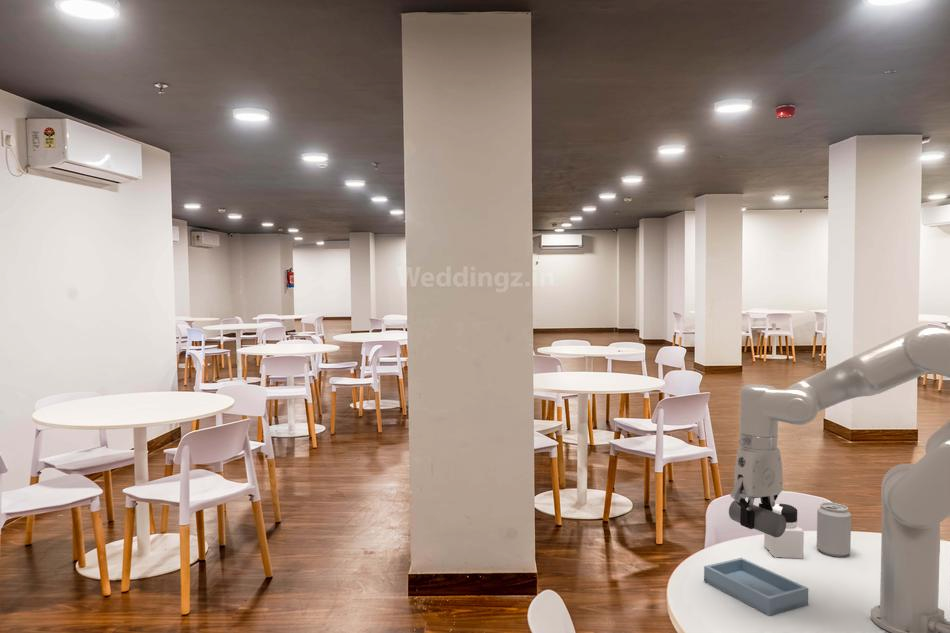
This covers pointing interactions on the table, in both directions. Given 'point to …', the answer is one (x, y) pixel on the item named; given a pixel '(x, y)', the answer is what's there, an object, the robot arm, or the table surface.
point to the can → (833, 529)
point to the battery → (761, 519)
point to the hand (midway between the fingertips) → (756, 524)
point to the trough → (756, 586)
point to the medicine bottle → (786, 535)
